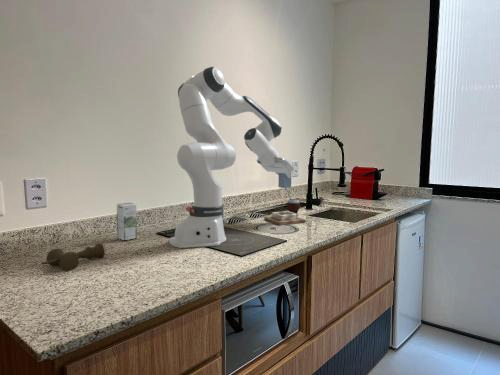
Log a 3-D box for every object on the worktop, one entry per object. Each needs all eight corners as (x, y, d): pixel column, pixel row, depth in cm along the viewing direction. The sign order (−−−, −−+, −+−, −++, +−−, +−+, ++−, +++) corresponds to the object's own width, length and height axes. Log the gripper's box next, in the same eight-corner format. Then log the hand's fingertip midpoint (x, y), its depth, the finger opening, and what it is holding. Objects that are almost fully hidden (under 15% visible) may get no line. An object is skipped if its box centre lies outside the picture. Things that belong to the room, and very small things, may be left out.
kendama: (110, 261, 127) (50, 276, 110) (93, 257, 132) (34, 270, 116) (109, 243, 126) (49, 256, 110) (93, 240, 132) (33, 251, 115)
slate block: (283, 188, 184) (284, 167, 183) (278, 187, 188) (278, 167, 187) (291, 187, 186) (291, 167, 185) (285, 186, 190) (286, 166, 189)
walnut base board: (279, 225, 179) (279, 217, 179) (264, 219, 192) (264, 212, 192) (305, 222, 186) (305, 214, 185) (289, 217, 199) (289, 209, 198)
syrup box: (130, 236, 157) (129, 202, 156) (137, 239, 153) (136, 203, 152) (117, 239, 153) (116, 203, 152) (124, 241, 149) (122, 205, 148)
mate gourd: (302, 214, 207) (302, 187, 206) (291, 215, 203) (291, 188, 201) (293, 212, 213) (293, 186, 212) (282, 213, 209) (282, 186, 207)
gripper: (286, 153, 173) (302, 173, 179) (262, 152, 190) (277, 170, 196) (278, 163, 171) (295, 183, 177) (254, 161, 188) (270, 179, 194)
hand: (285, 176), depth 187 cm, fingers closed on slate block, 4 cm apart
